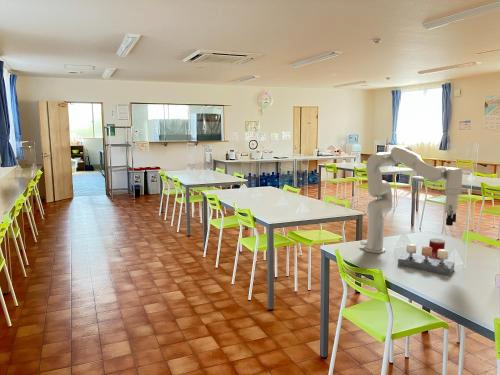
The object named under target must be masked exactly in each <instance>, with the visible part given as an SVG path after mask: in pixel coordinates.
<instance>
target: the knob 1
mask: <svg viewBox="0 0 500 375" xmlns="http://www.w3.org/2000/svg"><path fill="white" fill-rule="evenodd" d="M417 248H418V246H417V244H415V243H407V244H406V253H407V254H410V257H409V258H412V255H413V254H416V253H417Z"/></svg>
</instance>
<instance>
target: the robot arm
mask: <svg viewBox="0 0 500 375" xmlns="http://www.w3.org/2000/svg"><path fill="white" fill-rule="evenodd" d="M398 164H402V165H403V166H406V167H407V168H409V169H412V171H414V173H416V174H417V175H418V176H420V177H422V178H424V179H426V180H428V181H430V182H440V181H445V186H444V188H445V190H444V194H445V195H446V196H445V204H444V213H445V214H446V218H445V225H446V226H451V227H452V226H454V223H456V220H457V212H458V206H459V196H461V195H462V186H463V185H462V184H463V174H464V173H463V169H462V168H461V167H460V168H459V167H447V166H443V165H440V166H433V165H430V164H429V163H426V162H425V161H423V159H422V155H420V154H418V153H416V152H413V149H412V148H410V146H407V145H398V146H397V145H396V146H394V147H393V148H392V149H391V150H390V151H385V152H384V151H381V152H376V153H374V154H371V155H370V156H369V157H368V158H367V159H366V163H365V169H366V170H365V171H366V175H367V176H366V177H367V178H366V179H367V180H366V181H367V191H368V194H369V196H370V197H372V198H376V199H373V200H370V201H369V202H368V204H367V207H366V209H367V210H366V211H367V236H366V241H364V240H363V241H362V240H361V241H360V245H361V246H364V247H363V250H364V251H365V252H368V253H374V254H383V253H385V252H386V248H385V247H384V235H385V233H384V232H385V217H384V214H388V213H390V212H391V211H392V208H393V194H392V193H393V192H392V186H391V184H390V183H389V182H388V181H386V180H383V173H382V170H381V167H383V168H385V167H391V166H394V165H398Z"/></svg>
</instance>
